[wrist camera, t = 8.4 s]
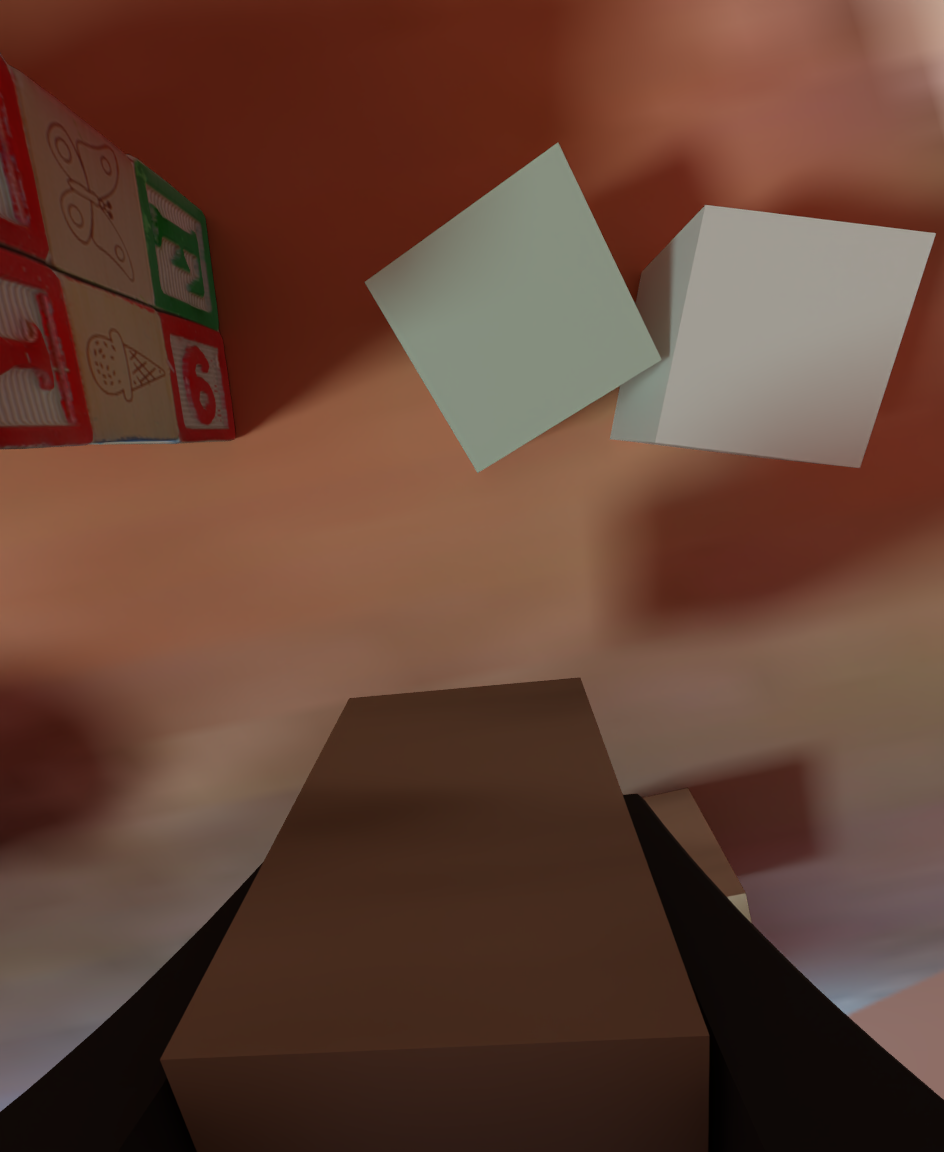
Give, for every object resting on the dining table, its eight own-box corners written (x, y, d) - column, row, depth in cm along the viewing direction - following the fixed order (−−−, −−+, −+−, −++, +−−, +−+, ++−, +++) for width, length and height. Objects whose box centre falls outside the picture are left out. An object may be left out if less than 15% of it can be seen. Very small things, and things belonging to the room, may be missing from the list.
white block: (757, 457, 16) (859, 467, 11) (609, 438, 16) (655, 442, 11) (801, 292, 14) (935, 232, 10) (640, 272, 14) (706, 204, 10)
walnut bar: (592, 867, 11) (707, 1352, 5) (386, 880, 11) (277, 1353, 6) (580, 677, 10) (709, 1034, 4) (349, 698, 10) (159, 1060, 4)
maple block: (708, 881, 20) (768, 1006, 16) (594, 903, 20) (622, 1030, 16) (686, 786, 19) (745, 893, 14) (566, 813, 19) (589, 924, 15)
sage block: (613, 379, 15) (661, 359, 11) (481, 460, 16) (477, 473, 12) (537, 229, 14) (558, 142, 10) (401, 324, 15) (364, 281, 11)
